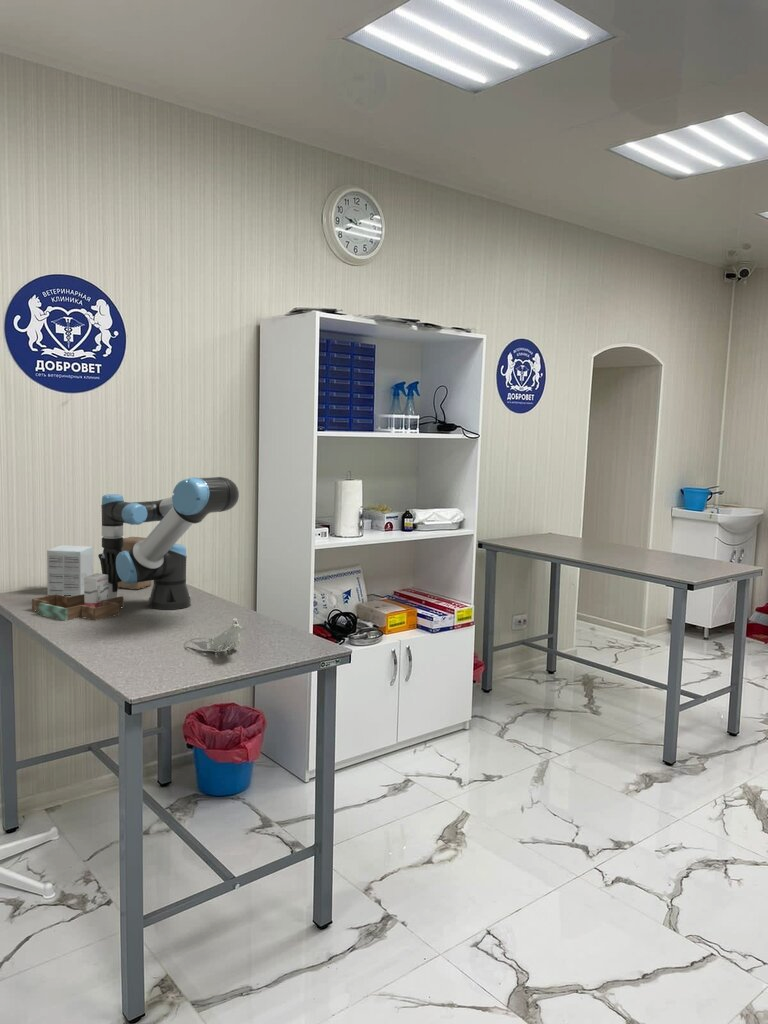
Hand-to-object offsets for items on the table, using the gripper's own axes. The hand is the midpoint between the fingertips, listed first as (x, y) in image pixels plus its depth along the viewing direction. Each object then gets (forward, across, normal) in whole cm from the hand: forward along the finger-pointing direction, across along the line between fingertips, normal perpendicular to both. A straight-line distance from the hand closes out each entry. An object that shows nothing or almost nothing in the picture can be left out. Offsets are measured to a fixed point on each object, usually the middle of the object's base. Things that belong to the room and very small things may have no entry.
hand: (112, 600), depth 289 cm
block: (+2, +17, -25) cm, 31 cm away
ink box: (+2, 0, +7) cm, 8 cm away
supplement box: (+2, +28, -3) cm, 28 cm away
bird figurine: (+1, -73, +21) cm, 76 cm away
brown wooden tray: (+2, 0, +13) cm, 13 cm away
